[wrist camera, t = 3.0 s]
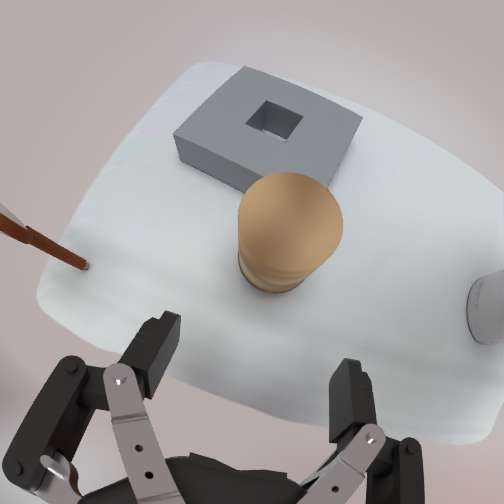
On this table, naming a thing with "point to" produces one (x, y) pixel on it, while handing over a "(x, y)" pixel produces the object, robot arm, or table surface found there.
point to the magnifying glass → (36, 239)
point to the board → (259, 143)
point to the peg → (286, 230)
